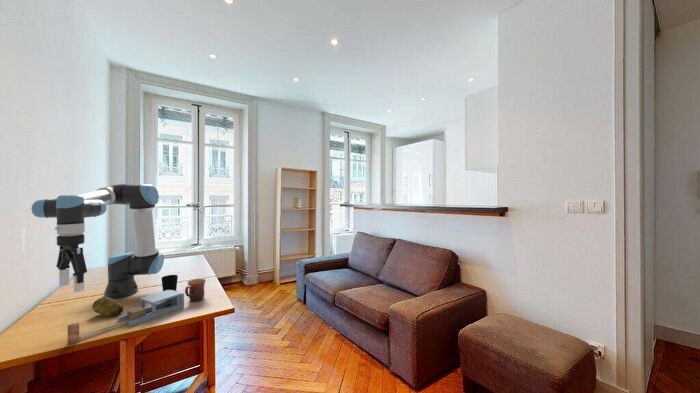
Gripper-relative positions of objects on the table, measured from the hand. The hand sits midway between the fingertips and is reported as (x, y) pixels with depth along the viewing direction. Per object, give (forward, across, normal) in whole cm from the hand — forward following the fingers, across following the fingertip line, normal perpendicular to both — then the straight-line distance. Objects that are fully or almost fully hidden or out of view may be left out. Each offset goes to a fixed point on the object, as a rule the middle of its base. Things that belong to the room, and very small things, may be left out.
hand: (71, 288), depth 105 cm
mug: (+22, +3, +48) cm, 53 cm away
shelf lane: (+22, 0, +28) cm, 35 cm away
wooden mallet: (+22, +1, +11) cm, 24 cm away
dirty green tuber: (+22, -18, +18) cm, 33 cm away
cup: (+22, -13, +44) cm, 51 cm away
